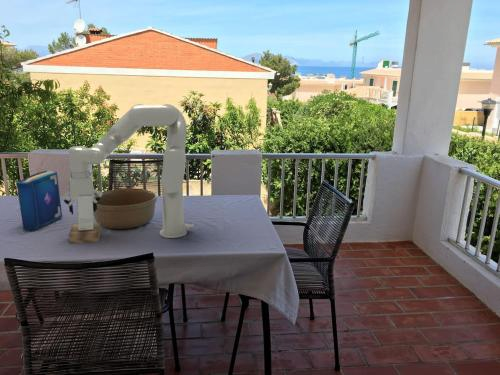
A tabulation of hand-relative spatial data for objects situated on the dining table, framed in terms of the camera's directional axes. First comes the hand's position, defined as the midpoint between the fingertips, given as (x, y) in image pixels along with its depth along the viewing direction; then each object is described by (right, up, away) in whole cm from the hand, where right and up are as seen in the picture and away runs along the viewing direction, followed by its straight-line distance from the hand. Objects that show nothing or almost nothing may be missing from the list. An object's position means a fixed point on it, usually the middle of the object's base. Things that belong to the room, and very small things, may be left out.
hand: (83, 212), depth 183 cm
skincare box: (0, -7, +2) cm, 8 cm away
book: (-28, -7, +18) cm, 34 cm away
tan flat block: (0, -12, +3) cm, 13 cm away
